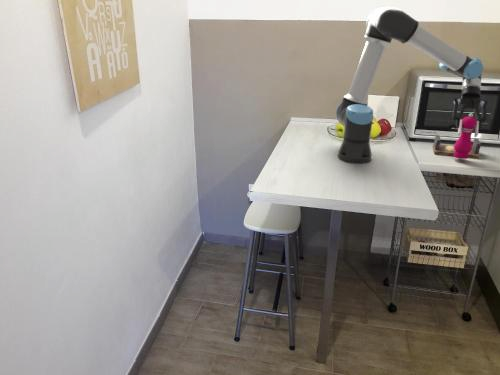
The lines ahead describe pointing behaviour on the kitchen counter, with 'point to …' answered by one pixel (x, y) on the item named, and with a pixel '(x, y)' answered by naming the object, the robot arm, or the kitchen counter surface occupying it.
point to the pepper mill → (465, 138)
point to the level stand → (449, 149)
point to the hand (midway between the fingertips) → (467, 134)
